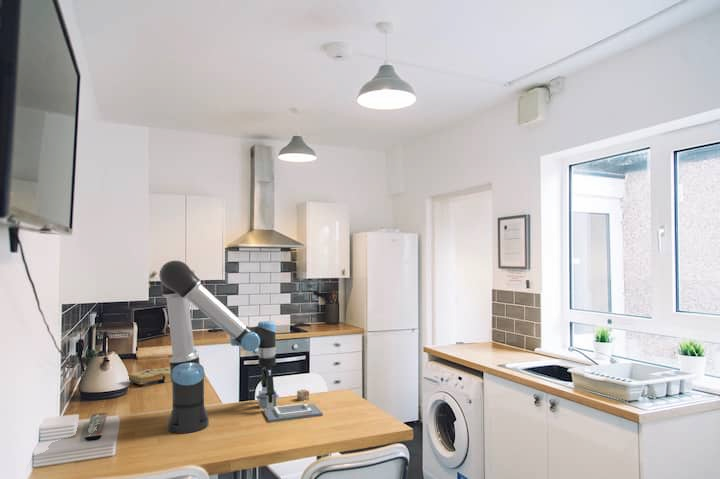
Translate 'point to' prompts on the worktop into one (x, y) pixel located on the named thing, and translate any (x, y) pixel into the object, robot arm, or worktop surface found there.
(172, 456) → the worktop surface
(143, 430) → the worktop surface
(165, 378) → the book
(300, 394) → the oak block
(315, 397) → the worktop surface
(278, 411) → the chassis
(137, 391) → the worktop surface
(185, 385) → the robot arm
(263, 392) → the servo block
